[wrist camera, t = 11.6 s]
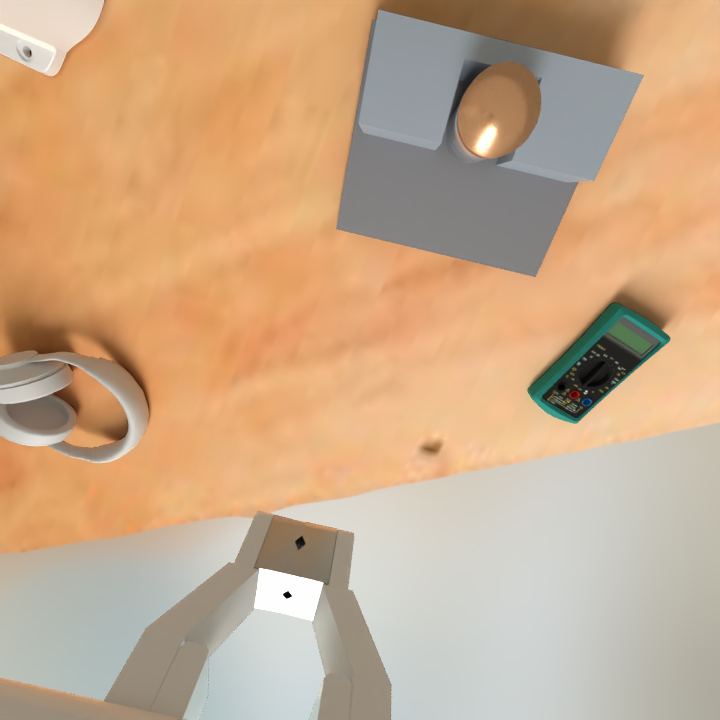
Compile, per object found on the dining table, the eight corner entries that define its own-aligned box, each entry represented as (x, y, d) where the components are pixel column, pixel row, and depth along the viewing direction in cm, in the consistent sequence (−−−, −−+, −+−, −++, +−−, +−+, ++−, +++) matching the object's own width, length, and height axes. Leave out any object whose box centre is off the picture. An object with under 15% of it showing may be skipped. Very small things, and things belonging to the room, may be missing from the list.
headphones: (24, 422, 55) (156, 448, 58) (-22, 457, 48) (131, 485, 52) (7, 320, 47) (162, 358, 50) (-51, 346, 40) (133, 387, 43)
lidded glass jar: (436, 158, 32) (448, 147, 25) (455, 89, 30) (475, 52, 22) (490, 172, 33) (521, 165, 25) (514, 104, 30) (555, 72, 22)
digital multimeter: (521, 392, 45) (529, 404, 42) (612, 298, 39) (628, 305, 36) (564, 417, 46) (574, 430, 43) (659, 329, 40) (678, 339, 37)
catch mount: (338, 227, 38) (327, 234, 32) (373, 27, 30) (368, -13, 24) (530, 274, 38) (554, 288, 32) (613, 86, 30) (665, 61, 24)
